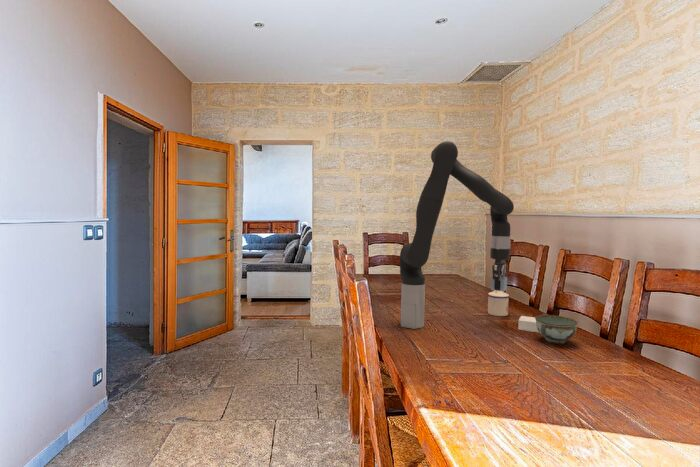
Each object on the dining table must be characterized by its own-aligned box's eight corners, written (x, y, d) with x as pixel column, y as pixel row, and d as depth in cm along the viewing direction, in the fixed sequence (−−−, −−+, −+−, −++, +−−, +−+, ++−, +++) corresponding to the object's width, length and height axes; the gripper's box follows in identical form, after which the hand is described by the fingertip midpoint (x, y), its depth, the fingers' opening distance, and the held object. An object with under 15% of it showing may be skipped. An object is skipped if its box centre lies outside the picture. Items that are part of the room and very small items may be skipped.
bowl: (583, 349, 129) (584, 326, 129) (540, 346, 132) (541, 323, 132) (569, 336, 143) (569, 315, 142) (530, 334, 145) (530, 313, 145)
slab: (540, 333, 147) (541, 323, 147) (518, 330, 151) (518, 320, 151) (542, 328, 154) (543, 318, 154) (521, 325, 158) (521, 315, 158)
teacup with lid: (511, 316, 170) (512, 290, 170) (491, 316, 171) (491, 290, 170) (502, 310, 182) (502, 285, 182) (482, 309, 183) (483, 285, 182)
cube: (503, 291, 154) (504, 279, 153) (490, 289, 156) (491, 277, 156) (506, 289, 158) (507, 277, 158) (494, 288, 161) (494, 276, 160)
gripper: (495, 245, 164) (493, 285, 165) (486, 247, 152) (484, 290, 153) (513, 246, 160) (512, 287, 161) (506, 248, 148) (504, 292, 149)
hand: (498, 288), depth 157 cm, fingers closed on cube, 5 cm apart
